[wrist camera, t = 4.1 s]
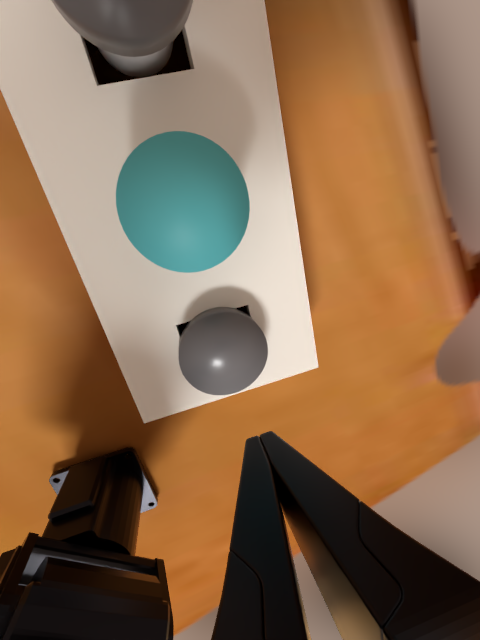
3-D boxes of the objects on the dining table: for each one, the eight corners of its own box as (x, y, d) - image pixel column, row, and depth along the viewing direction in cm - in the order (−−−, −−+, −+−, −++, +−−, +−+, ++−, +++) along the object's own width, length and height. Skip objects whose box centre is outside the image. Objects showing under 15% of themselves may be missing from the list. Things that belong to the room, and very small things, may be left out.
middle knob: (239, 248, 17) (260, 255, 12) (152, 270, 16) (142, 286, 12) (217, 150, 15) (233, 118, 11) (119, 171, 14) (92, 146, 10)
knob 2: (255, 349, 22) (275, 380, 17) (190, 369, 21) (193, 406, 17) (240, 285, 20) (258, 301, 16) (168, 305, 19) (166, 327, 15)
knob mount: (295, 344, 23) (318, 367, 19) (149, 390, 22) (144, 423, 18) (229, -34, 15) (246, -119, 11) (-7, -3, 14) (-77, -89, 10)
